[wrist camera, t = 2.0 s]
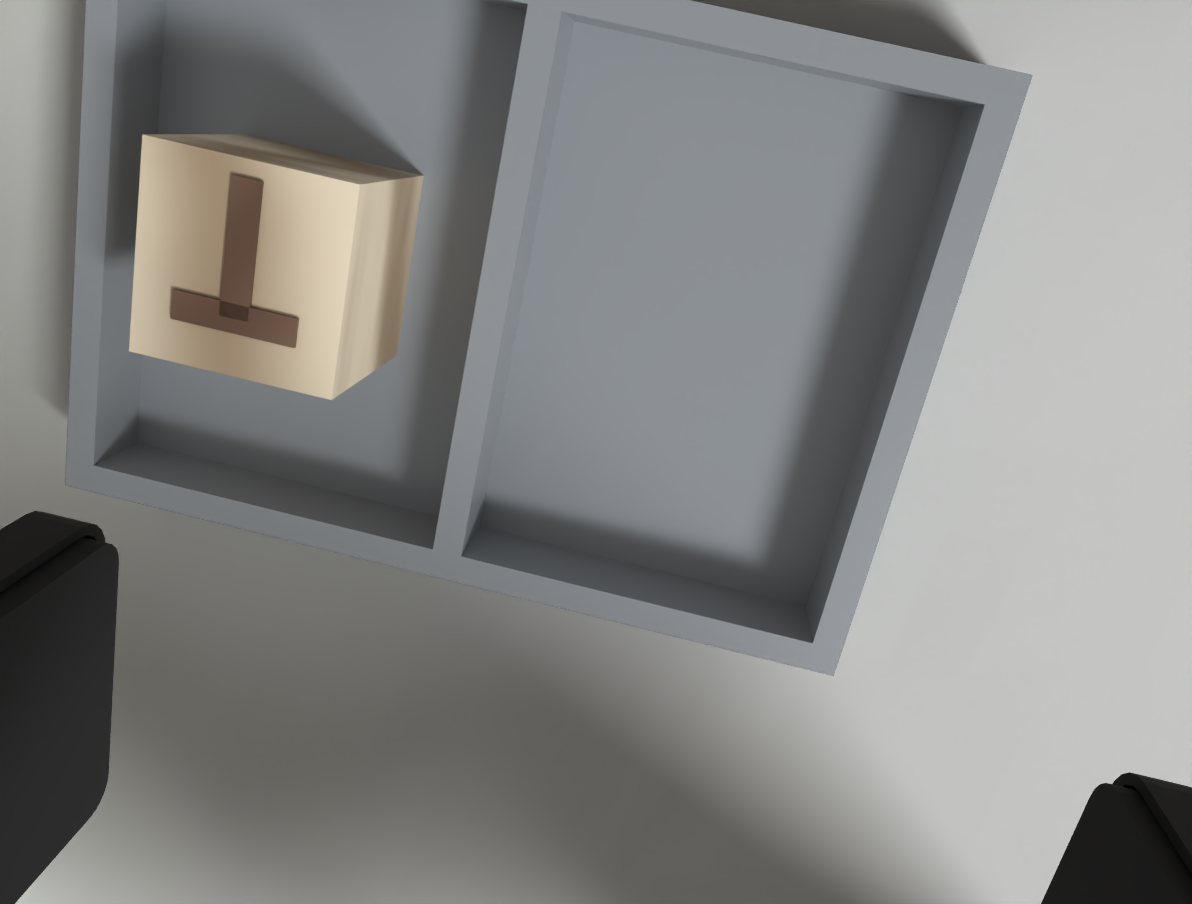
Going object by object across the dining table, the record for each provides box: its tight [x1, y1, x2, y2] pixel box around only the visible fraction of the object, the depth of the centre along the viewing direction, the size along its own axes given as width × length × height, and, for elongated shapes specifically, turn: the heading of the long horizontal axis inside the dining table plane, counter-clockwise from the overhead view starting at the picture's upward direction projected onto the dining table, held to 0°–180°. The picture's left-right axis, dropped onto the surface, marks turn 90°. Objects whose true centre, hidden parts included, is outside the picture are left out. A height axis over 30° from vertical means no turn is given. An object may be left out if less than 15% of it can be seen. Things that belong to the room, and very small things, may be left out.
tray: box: [65, 0, 1032, 676], centre depth 27 cm, size 22×16×3 cm
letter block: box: [129, 134, 424, 400], centre depth 25 cm, size 5×5×5 cm
